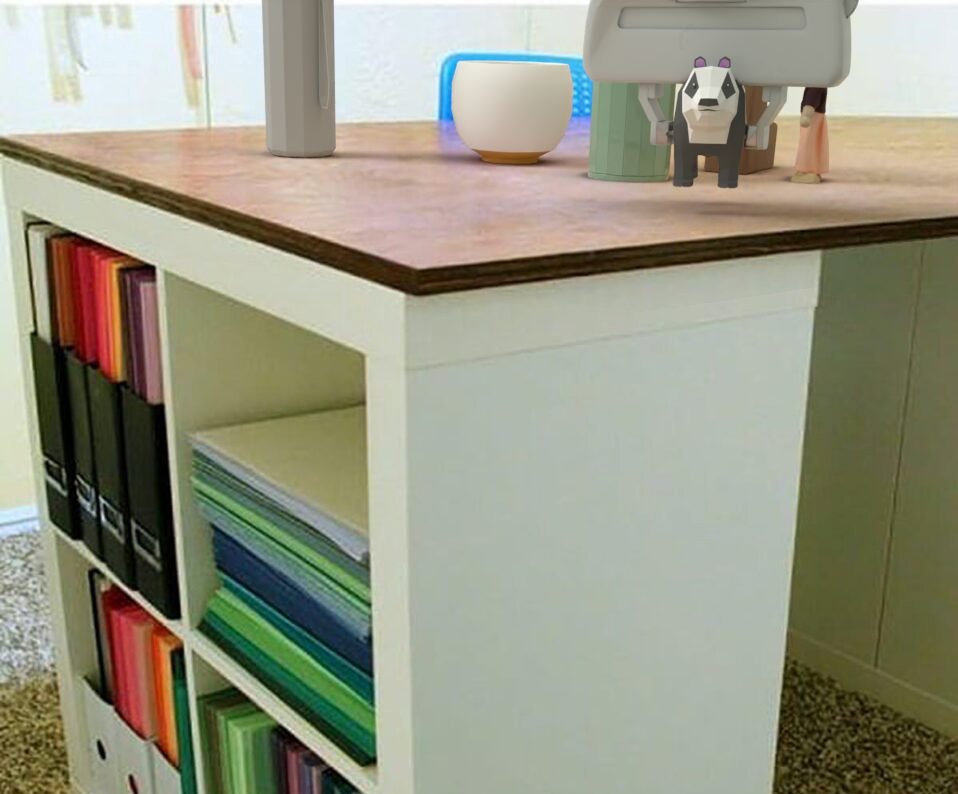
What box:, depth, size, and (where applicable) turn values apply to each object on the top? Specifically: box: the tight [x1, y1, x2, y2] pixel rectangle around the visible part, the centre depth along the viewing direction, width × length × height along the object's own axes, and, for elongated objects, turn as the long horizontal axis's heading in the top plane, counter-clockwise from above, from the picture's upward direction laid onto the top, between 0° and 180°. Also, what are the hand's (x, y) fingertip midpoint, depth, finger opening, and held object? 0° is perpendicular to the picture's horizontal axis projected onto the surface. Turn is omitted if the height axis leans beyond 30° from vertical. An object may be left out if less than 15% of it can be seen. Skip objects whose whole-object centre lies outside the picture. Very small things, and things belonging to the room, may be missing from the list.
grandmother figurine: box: [790, 87, 830, 185], centre depth 122 cm, size 8×4×13 cm, turn 171°
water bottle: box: [261, 0, 337, 159], centre depth 129 cm, size 9×8×25 cm
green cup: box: [587, 81, 677, 183], centre depth 121 cm, size 8×8×9 cm
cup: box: [450, 60, 574, 165], centre depth 132 cm, size 12×12×10 cm
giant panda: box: [672, 56, 746, 189], centre depth 99 cm, size 15×6×10 cm, turn 169°
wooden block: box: [703, 85, 779, 176], centre depth 128 cm, size 9×4×18 cm, turn 150°
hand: (707, 146), depth 101 cm, fingers closed on giant panda, 6 cm apart
